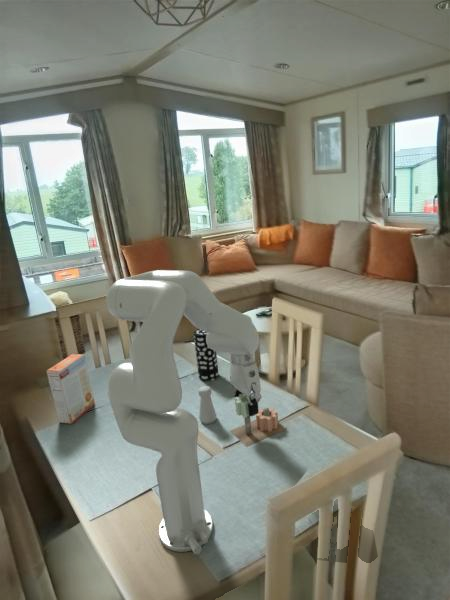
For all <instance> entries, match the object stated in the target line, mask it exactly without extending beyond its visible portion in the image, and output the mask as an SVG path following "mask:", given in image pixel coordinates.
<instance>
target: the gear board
mask: <svg viewBox="0 0 450 600" xmlns="http://www.w3.org/2000/svg"><path fill="white" fill-rule="evenodd" d="M263 408H264V409H263V411H264V416H270V415H269V409H270V407H263ZM243 419H244V424H242V425H240V426H237V427H236V428H234V429H231V430H229V432H230V433H231V434H232V435H234V436H235V438H236V439H238V440H239V441H240V442H241V443H242V444H244V446H246V447H249V446H251V445H255V444H257V443H258V442H261V441H263V440H265V439H267V438H270V437H272V436H274V435H276V434H278V433H281V432H282V431H285V430H287V427H286V426H284V425H283V424H281V422H279V421H278V425H277V426H278V428H277V429H272V431H270V432H268V430H264V431H261V430H260V428H257V425H256V419H255V420H252V421H251V416H247V418H246V417H243Z"/></svg>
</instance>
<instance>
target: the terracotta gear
mask: <svg viewBox="0 0 450 600" xmlns="http://www.w3.org/2000/svg"><path fill="white" fill-rule="evenodd" d="M264 408H265V407H262V409H258V410H259V413H258V414H255V420H256V425H257V428H260V430H261V431H264V430H268V432H270V431H272V429H277V428H278V426H277V425H278V422H279V419H278V418H279V416H278V410H275V409H274V408H273V407H269V415H270V416H264V411H263V409H264Z"/></svg>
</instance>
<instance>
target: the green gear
mask: <svg viewBox="0 0 450 600" xmlns="http://www.w3.org/2000/svg"><path fill="white" fill-rule="evenodd" d="M250 397H251V400H252V399H253V398H254V395H252V396H250ZM234 402H235V412H236V415H237V416H238V417H239V416H242V418H244V417H246V418H247V416H249V411H248V404H249V401H248V398H247V396H246V395H244V394H239V397H236V398H235V397H234ZM254 416H255V417H256V414H255V415H253V416H252V417H254Z"/></svg>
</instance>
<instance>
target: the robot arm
mask: <svg viewBox="0 0 450 600" xmlns="http://www.w3.org/2000/svg"><path fill="white" fill-rule="evenodd" d="M105 298H106V299H105V301H106V308H107V310H108V311H109V313H110V314H111V316H113V317H115V318H116V319H117V320H121V321H126V322H127V321H129V322H141V323H142V324H141V326H140V327H139V329H138V331H137V332H136V334H135V336H134V338H133V339H132V341H131V343H130V347H129V351H128V352H129V353H128V354H129V360H130V361H128V362H126V361H125V362H123V363H120V364H119V365H117V366H116V367H115V368H114V369H113V370H112V371H111V373H110V376H109V378H108V384H107V394H108V395H107V396H108V399H109V403H110V406H111V409H112V412H113V415H114V418H115V421H116V424H117V427H118V429H119V432H120V434H121V436H122V438H123V440H125V442H127V443H129V444H130V445H134V446H137V447H139V448H141V447H142V448H143V449H149V450H152V451H156V452H157V453H160V454H161V457H160V458H159V459H158V461H157V463H156V466H155V475H156V481H157V487H158V494H159V498H160V499H159V501H160V505H161V510H162V517H163V518H162V520H161V522H160V524H159V527H158V536H159V539H160V542H161V543H162V545H163V546H164V547H166V548H167V549H169V550H170V551H174V552H180V553H182V552H183V553H184V552H188V551H192V553H193V554H194V555H198V554H200V553H201V551H203V550H202V545H204V544H207V543H208V541H209V538H210V536H211V535H212V532H213V530H214V529H213V527H214V525H213V517H212V516H211V513H210V512H209V511H208V510H207V509H206V508H205V505H204V504H205V503H204V496H203V488H202V483H201V474H200V467H199V457H198V440H199V423H198V420H197V418H196V416H195V415H194V414H193V413H191V411H188V410H185V409H184V408H180V407H179V406H180V405H181V402H182V399H183V389H182V384H181V380H180V376H179V372H178V369H177V364H176V360H175V354H174V348H173V346H174V344H173V343H174V340H175V339H174V338H175V335H176V334H177V330H178V328H179V325H180V323H181V321H182V318H183V316H184V317H185V318H186V319H187V320H188V321H189V322H190V323H191V325H193V326H194V327H195V328H196V329H201V330H203V331H206V332H208V333H207V335H206V343H207V345H208V347H209V348H210V349H212V350H214V351H216V352H220V353H221V352H222V353H228V357H229V358H228V359H229V369H230V371H229V374H230V376H229V379H230V382H231V386H232V388H233V393H234V399H235V398H236V397H239V394H244V395H246V396H247V398H248V401H249V404H248V411H249V416H250V417H254V416H253V415H255V416H256V414H258V413H259V410H260V409H259V402H260V400H261V399H262V398H263V397H262V394H261V392H262V391H261V390H262V387H261V381H260V380H261V378H260V374H259V368H258V366H257V362H256V355H255V354H256V353H255V352H256V351H257V350H258V347H259V345H260V336H259V332H258V329H257V327H256V326H255V324H254V323H253V320H252V318H251V316H249V314H245V313H243V312H241V311H238V310H237V309H235V308H232V307H231V306H230V305H227V304H226V303H223V302H221V301H219V300H218V298H217V297H216V295H214V293H213V292H212V290H211V289H210V288H209V286H208V285H207V284H206V283H205V281H204V279H202V278H201V276H200V275H199V274H197V273H196V272H194V271H190V270H180V269H177V270H176V269H175V270H174V269H156V270H151V271H147V272H143V273H140V274H136V275H132V276H128V277H125V278H121V279H118V280H116V281H115V282H114V283H112V284H111V286H110V287H109V288H108V290H107V293H106V297H105ZM252 395H254V398H253V399H252V400H251V397H250V396H252Z"/></svg>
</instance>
